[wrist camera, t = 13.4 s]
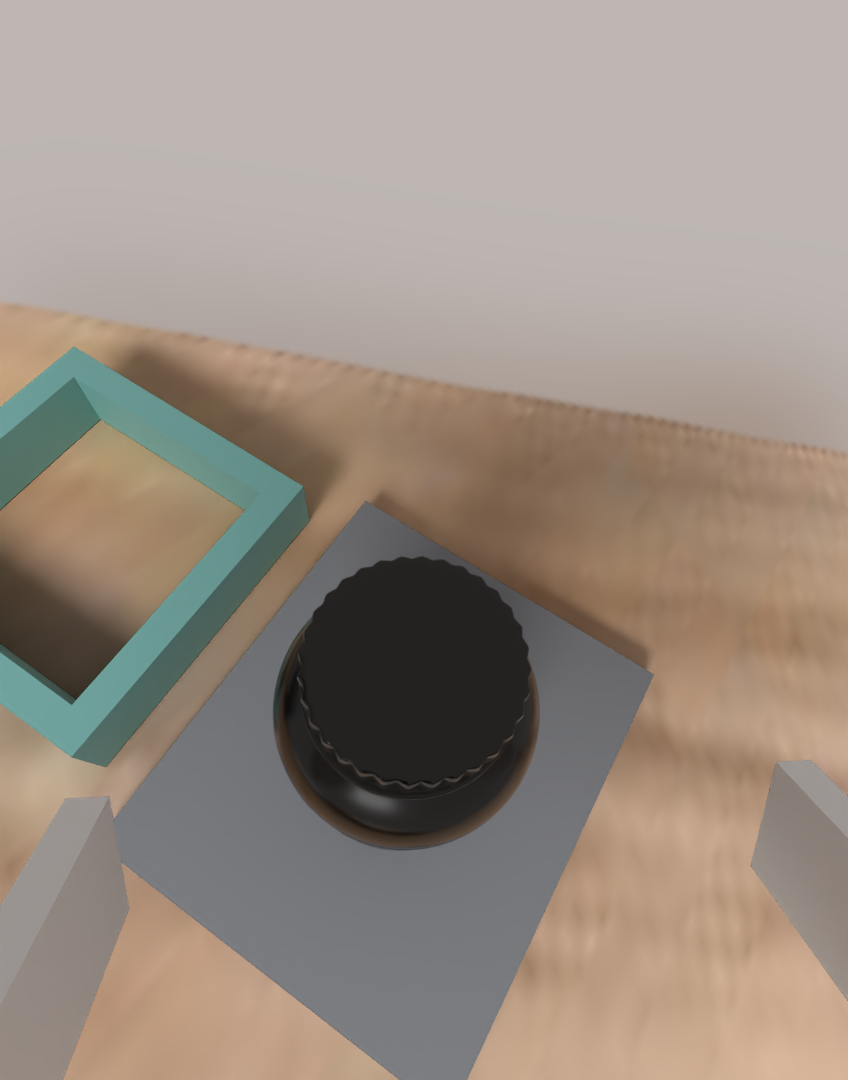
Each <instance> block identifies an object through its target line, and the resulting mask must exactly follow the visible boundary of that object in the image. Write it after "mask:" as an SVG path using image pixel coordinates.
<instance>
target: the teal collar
mask: <svg viewBox="0 0 848 1080" xmlns="http://www.w3.org/2000/svg"><path fill="white" fill-rule="evenodd" d="M100 419H101V420H102V421H104V422H106V423H107V424H109V425H110V426H112V427H114V428H115V429H117V430H118V431H120V432H121V433H123V434H125V435H126V436H128V437H129V438H131V439H133V440H134V441H136V442H137V443H139V444H141V445H142V446H144V447H145V448H147V449H148V450H150V451H152V452H153V453H155V454H156V455H158V456H160V457H161V458H163V459H164V460H166V461H168V462H169V463H171V464H172V465H174V466H175V467H177V468H179V469H180V470H182V471H183V472H185V473H187V474H188V475H190V476H191V477H193V478H194V479H196V480H198V481H199V482H201V483H202V484H204V485H206V486H207V487H209V488H210V489H212V490H214V491H215V492H217V493H218V494H220V495H221V496H223V497H225V498H226V499H228V500H229V501H231V502H233V503H234V504H236V505H237V506H239V507H241V508H242V509H244V510H245V511H244V512H243V514H242V515H241V516H240V517H239V518H238V519H237V520H236V521H235V523H234V524H233V525H232V526H231V527H230V528H229V529H228V530H227V532H226V533H225V534H224V535H223V536H222V537H221V538H220V539H219V540H218V542H217V543H216V544H215V545H214V546H213V547H212V548H211V549H210V551H209V552H208V553H207V554H206V555H205V556H204V557H203V558H202V560H201V561H200V562H199V563H198V564H197V565H196V566H195V567H194V569H193V570H192V571H191V572H190V573H189V574H188V575H187V576H186V578H185V579H184V580H183V581H182V582H181V583H180V584H179V585H178V586H177V588H176V589H175V590H174V591H173V592H172V593H171V594H170V595H169V597H168V598H167V599H166V600H165V601H164V602H163V603H162V604H161V606H160V607H159V608H158V609H157V610H156V611H155V612H154V613H153V615H152V616H151V617H150V618H149V619H148V620H147V621H146V622H145V623H144V625H143V626H142V627H141V628H140V629H139V630H138V631H137V632H136V634H135V635H134V636H133V637H132V638H131V639H130V640H129V641H128V643H127V644H126V645H125V646H124V647H123V648H122V649H121V650H120V652H119V653H118V654H117V655H116V656H115V657H114V658H113V659H112V661H111V662H110V663H109V664H108V665H107V666H106V667H105V668H104V669H103V671H102V672H101V673H100V674H99V675H98V676H97V677H96V678H95V680H94V681H93V682H92V683H91V684H90V685H89V686H88V687H87V689H86V690H85V691H84V692H83V693H82V694H81V695H80V696H79V698H78V699H77V700H76V699H74V698H73V697H72V696H70V695H69V694H68V693H66V692H65V691H64V690H62V689H61V688H59V687H58V686H57V685H55V684H54V683H53V682H51V681H50V680H49V679H47V678H46V677H45V676H43V675H42V674H41V673H39V672H38V671H36V670H35V669H34V668H32V667H31V666H30V665H28V664H27V663H26V662H24V661H23V660H22V659H20V658H19V657H17V656H16V655H15V654H13V653H12V652H11V651H9V650H8V649H7V648H5V647H4V646H3V645H1V644H0V703H1V704H2V705H3V706H5V707H6V708H7V709H8V710H10V711H11V712H12V713H14V714H15V715H16V716H18V717H19V718H20V719H22V720H23V721H24V722H26V723H27V724H28V725H30V726H31V727H32V728H34V729H35V730H36V731H37V732H39V733H40V734H41V735H43V736H44V737H45V738H47V739H48V740H49V741H51V742H52V743H53V744H55V745H56V746H57V747H59V748H60V749H61V750H63V751H64V752H65V753H66V754H68V755H69V756H70V757H73V758H76V759H79V760H83V761H86V762H89V763H93V764H96V765H100V766H103V767H106V766H107V765H108V764H109V763H110V761H111V760H112V759H113V758H114V757H115V755H116V754H117V753H118V752H119V751H120V749H121V748H122V747H123V746H124V745H125V743H126V742H127V741H128V740H129V738H130V737H131V736H132V735H133V734H134V732H135V731H136V730H137V729H138V728H139V726H140V725H141V724H142V723H143V722H144V720H145V719H146V718H147V717H148V715H149V714H150V713H151V712H152V711H153V709H154V708H155V707H156V706H157V705H158V703H159V702H160V701H161V700H162V699H163V697H164V696H165V695H166V694H167V693H168V691H169V690H170V689H171V688H172V686H173V685H174V684H175V683H176V682H177V680H178V679H179V678H180V677H181V676H182V674H183V673H184V672H185V671H186V670H187V668H188V667H189V666H190V665H191V663H192V662H193V661H194V660H195V659H196V657H197V656H198V655H199V654H200V653H201V651H202V650H203V649H204V648H205V647H206V645H207V644H208V643H209V642H210V641H211V639H212V638H213V637H214V636H215V634H216V633H217V632H218V631H219V630H220V628H221V627H222V626H223V625H224V624H225V622H226V621H227V620H228V619H229V618H230V616H231V615H232V614H233V613H234V611H235V610H236V609H237V608H238V607H239V605H240V604H241V603H242V602H243V601H244V599H245V598H246V597H247V596H248V595H249V593H250V592H251V591H252V590H253V589H254V587H255V586H256V585H257V584H258V582H259V581H260V580H261V579H262V578H263V576H264V575H265V574H266V573H267V572H268V570H269V569H270V568H271V567H272V566H273V564H274V563H275V562H276V561H277V559H278V558H279V557H280V556H281V555H282V553H283V552H284V551H285V550H286V549H287V547H288V546H289V545H290V544H291V543H292V541H293V540H294V539H295V538H296V537H297V535H298V534H299V533H300V532H301V530H302V529H303V528H304V527H305V526H306V524H307V523H308V522H309V521H310V520H309V515H308V509H307V504H306V498H305V492H304V487H303V486H302V485H300V484H298V483H297V482H295V481H294V480H292V479H290V478H289V477H287V476H285V475H284V474H282V473H280V472H279V471H277V470H276V469H274V468H272V467H271V466H269V465H267V464H266V463H264V462H262V461H261V460H259V459H258V458H256V457H254V456H253V455H251V454H249V453H248V452H246V451H244V450H243V449H241V448H239V447H238V446H236V445H235V444H233V443H231V442H230V441H228V440H226V439H225V438H223V437H221V436H220V435H218V434H217V433H215V432H213V431H212V430H210V429H208V428H207V427H205V426H203V425H202V424H200V423H198V422H197V421H195V420H194V419H192V418H190V417H189V416H187V415H185V414H184V413H182V412H180V411H179V410H177V409H176V408H174V407H172V406H171V405H169V404H167V403H166V402H164V401H162V400H161V399H159V398H157V397H156V396H154V395H153V394H151V393H149V392H148V391H146V390H144V389H143V388H141V387H139V386H138V385H136V384H135V383H133V382H131V381H130V380H128V379H126V378H125V377H123V376H121V375H120V374H118V373H117V372H115V371H113V370H112V369H110V368H108V367H107V366H105V365H103V364H102V363H100V362H98V361H97V360H95V359H94V358H92V357H90V356H89V355H87V354H85V353H84V352H82V351H80V350H79V349H77V348H76V347H73V348H72V349H70V350H69V351H68V352H67V353H66V354H64V355H63V356H62V357H61V358H59V359H58V360H57V361H56V362H55V363H53V364H52V365H51V366H50V367H48V368H47V369H46V370H45V371H44V372H42V373H41V374H40V375H39V376H38V377H36V378H35V379H34V380H33V381H31V382H30V383H29V384H28V385H27V386H25V387H24V388H23V389H22V390H20V391H19V392H18V393H17V394H16V395H14V396H13V397H12V398H11V399H9V400H8V401H7V402H6V403H5V404H3V405H2V406H1V407H0V509H1V508H3V507H4V506H5V505H6V504H7V503H8V502H9V501H10V500H11V499H13V498H14V497H15V496H16V495H17V494H18V493H19V492H20V491H21V490H23V489H24V488H25V487H26V486H27V485H28V484H29V483H30V482H31V481H33V480H34V479H35V478H36V477H37V476H38V475H39V474H40V473H41V472H43V471H44V470H45V469H46V468H47V467H48V466H49V465H50V464H51V463H53V462H54V461H55V460H56V459H57V458H58V457H59V456H60V455H61V454H63V453H64V452H65V451H66V450H67V449H68V448H69V447H70V446H71V445H73V444H74V443H75V442H76V441H77V440H78V439H79V438H80V437H81V436H83V435H84V434H85V433H86V432H87V431H88V430H89V429H90V428H91V427H92V426H94V425H95V424H96V423H97V422H98V421H99V420H100Z"/></svg>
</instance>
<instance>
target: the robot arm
mask: <svg viewBox="0 0 848 1080" xmlns="http://www.w3.org/2000/svg"><path fill="white" fill-rule="evenodd" d="M751 867H752V868H753V870H754V871H755V872H756V874H757V875H758V877H759V878H760V879H761V881H762V882H763V884H764V885H765V886H766V888H767V889H768V891H769V892H770V893H771V895H772V896H773V898H774V899H775V900H776V902H777V903H778V905H779V906H780V907H781V909H782V910H783V912H784V913H785V914H786V916H787V917H788V919H789V920H790V921H791V923H792V924H793V926H794V927H795V928H796V930H797V931H798V933H799V934H800V935H801V937H802V938H803V940H804V941H805V942H806V944H807V945H808V947H809V948H810V949H811V951H812V952H813V954H814V955H815V956H816V958H817V959H818V961H819V962H820V963H821V965H822V966H823V968H824V969H825V970H826V972H827V973H828V975H829V976H830V977H831V979H832V980H833V981H834V983H835V984H836V986H837V987H838V988H839V990H840V991H841V993H842V994H843V995H844V997H845V998H846V1000H847V1001H848V796H847V795H846V794H845V793H844V792H843V791H842V790H841V789H840V788H839V787H838V786H837V785H836V784H835V783H834V782H833V781H832V780H831V779H830V778H829V777H828V776H827V775H826V774H825V773H824V772H823V771H822V770H821V769H820V768H819V767H818V766H817V765H816V764H815V763H813V762H812V761H811V760H805V761H785V762H776V765H775V769H774V773H773V777H772V781H771V785H770V789H769V793H768V798H767V802H766V806H765V810H764V814H763V818H762V822H761V826H760V830H759V834H758V838H757V842H756V846H755V850H754V854H753V858H752V862H751ZM128 910H129V904H128V898H127V893H126V887H125V882H124V876H123V870H122V865H121V859H120V854H119V848H118V843H117V837H116V832H115V826H114V820H113V815H112V809H111V804H110V798H109V797H90V798H70V799H65V801H64V802H63V804H62V806H61V807H60V809H59V811H58V812H57V814H56V816H55V817H54V819H53V820H52V822H51V824H50V825H49V827H48V829H47V830H46V832H45V834H44V835H43V837H42V839H41V840H40V842H39V843H38V845H37V847H36V848H35V850H34V852H33V853H32V855H31V857H30V858H29V860H28V862H27V863H26V865H25V867H24V868H23V870H22V871H21V873H20V875H19V876H18V878H17V880H16V881H15V883H14V885H13V886H12V888H11V890H10V891H9V893H8V894H7V896H6V898H5V899H4V901H3V903H2V904H1V906H0V1080H63V1078H64V1076H65V1073H66V1070H67V1068H68V1065H69V1063H70V1060H71V1058H72V1055H73V1052H74V1050H75V1047H76V1045H77V1042H78V1039H79V1037H80V1034H81V1032H82V1029H83V1027H84V1024H85V1021H86V1019H87V1016H88V1014H89V1011H90V1009H91V1006H92V1003H93V1001H94V998H95V996H96V993H97V990H98V988H99V985H100V983H101V980H102V978H103V975H104V972H105V970H106V967H107V965H108V962H109V960H110V957H111V954H112V952H113V949H114V947H115V944H116V941H117V939H118V936H119V934H120V931H121V929H122V926H123V923H124V921H125V918H126V916H127V913H128Z"/></svg>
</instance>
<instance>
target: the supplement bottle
mask: <svg viewBox="0 0 848 1080" xmlns="http://www.w3.org/2000/svg"><path fill="white" fill-rule="evenodd" d="M522 634H523V630H522V626H521V625H520V624H519V622H518V621H517V620H516V619H515V618H514V614H513V611H512V608H511V607H510V606H509V605H508V604H506V603H505V602H503V601H502V599H501V596H500V594H499V592H498V591H497V590H495V589H493V588H491V587H489V586H488V585H487V584H486V583H485V581H484V580H483V578H482V577H480V576H477V575H473V574H471V573H469V572H468V570H467V569H466V568H465V567H463V566H458V565H452V564H450V563H449V562H447V561H445V560H444V559H437V560H431V559H429V558H427V557H424V556H420V557H416V558H413V559H411V558H407V557H402V556H401V557H398V558H396V559H394V560H392V561H388V560H380V561H379V562H377V563H375V564H374V565H373V566H372V567H363V568H360V569H359V570H358V571H357V572H356V573H355V574H354V575H353V576H350V577H347V578H344V579H342V580H341V582H340V583H339V585H338V587H337V588H336V589H334V590H332V591H330V592H329V593H327V594H326V596H325V598H324V602H323V604H322V605H321V606H319V607H318V608H317V609H316V610H315V611H314V612H313V615H312V617H311V618H310V619H309V620H308V621H307V622H306V624H305V625H304V626H303V627H302V629H301V630H300V631H299V633H298V634H297V636H296V637H295V639H294V640H293V642H292V643H291V645H290V647H289V649H288V651H287V653H286V655H285V657H284V660H283V662H282V664H281V667H280V670H279V673H278V677H277V681H276V685H275V690H274V698H273V728H274V735H275V741H276V746H277V749H278V752H279V756H280V759H281V761H282V764H283V766H284V769H285V771H286V773H287V775H288V777H289V779H290V781H291V783H292V785H293V786H294V788H295V789H296V791H297V792H298V794H299V795H300V797H301V798H302V799H303V800H304V802H305V803H306V804H307V805H308V806H309V808H310V809H312V810H313V811H314V812H315V813H316V814H317V815H318V816H319V817H320V818H321V819H323V820H324V821H325V822H326V823H328V824H329V825H330V826H332V827H333V828H335V829H336V830H338V831H340V833H342V834H344V835H345V836H347V837H349V838H351V839H353V840H355V841H357V842H359V843H361V844H364V845H367V846H370V847H373V848H377V849H382V850H390V851H407V850H413V849H414V850H417V849H426V848H431V847H435V846H440V845H443V844H446V843H449V842H452V841H454V840H457V839H459V838H461V837H463V836H465V835H467V834H469V833H471V832H472V831H474V830H476V829H477V828H479V827H480V826H481V825H483V824H484V823H485V822H487V821H488V820H489V819H491V818H492V817H493V816H494V815H495V814H496V813H497V812H498V811H499V810H500V809H501V808H502V807H503V806H504V805H505V804H506V803H507V802H508V800H509V799H510V798H511V797H512V795H513V794H514V793H515V791H516V790H517V788H518V787H519V785H520V783H521V782H522V780H523V778H524V776H525V774H526V772H527V770H528V768H529V765H530V763H531V760H532V757H533V754H534V751H535V747H536V743H537V738H538V732H539V723H540V705H539V694H538V688H537V683H536V679H535V675H534V672H533V669H532V666H531V663H530V661H529V658H528V653H529V647H528V645H527V643H526V642H525V640H524V639H523V635H522Z"/></svg>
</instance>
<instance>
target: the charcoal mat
mask: <svg viewBox="0 0 848 1080" xmlns="http://www.w3.org/2000/svg"><path fill="white" fill-rule="evenodd" d="M401 556H402V557H407V558H411V559H413V558H416V557H420V556H424V557H427V558H429V559H431V560H437V559H444V560H445V561H447V562H449V563H450V564H452V565H458V566H463V567H465V568H466V569H467V570H468V572H469V573H471V574H473V575H477V576H480V577H482V578H483V580H484V581H485V583H486V584H487V585H488V586H489V587H491V588H493V589H495V590H497V591H498V592H499V594H500V596H501V599H502V601H503V602H505V603H506V604H508V605H509V606H510V607H511V608H512V611H513V614H514V618H515V619H516V620H517V621H518V622H519V624H520V625H521V626H522V630H523V634H522V635H523V639H524V640H525V642H526V643H527V645H528V647H529V653H528V658H529V661H530V663H531V666H532V669H533V672H534V675H535V679H536V683H537V688H538V694H539V705H540V723H539V732H538V738H537V743H536V747H535V751H534V754H533V757H532V760H531V763H530V765H529V768H528V770H527V772H526V774H525V776H524V778H523V780H522V782H521V783H520V785H519V787H518V788H517V790H516V791H515V793H514V794H513V795H512V797H511V798H510V799H509V800H508V802H507V803H506V804H505V805H504V806H503V807H502V808H501V809H500V810H499V811H498V812H497V813H496V814H495V815H494V816H493V817H492V818H491V819H489V820H488V821H487V822H485V823H484V824H483V825H481V826H480V827H479V828H477V829H476V830H474V831H472V832H471V833H469V834H467V835H465V836H463V837H461V838H459V839H457V840H454V841H452V842H449V843H446V844H443V845H440V846H435V847H431V848H426V849H417V850H414V849H413V850H407V851H390V850H382V849H377V848H373V847H370V846H367V845H364V844H361V843H359V842H357V841H355V840H353V839H351V838H349V837H347V836H345V835H344V834H342V833H340V831H338V830H336V829H335V828H333V827H332V826H330V825H329V824H328V823H326V822H325V821H324V820H323V819H321V818H320V817H319V816H318V815H317V814H316V813H315V812H314V811H313V810H312V809H310V808H309V806H308V805H307V804H306V803H305V802H304V800H303V799H302V798H301V797H300V795H299V794H298V792H297V791H296V789H295V788H294V786H293V785H292V783H291V781H290V779H289V777H288V775H287V773H286V771H285V769H284V766H283V764H282V761H281V759H280V756H279V752H278V749H277V746H276V741H275V735H274V728H273V698H274V690H275V685H276V681H277V677H278V673H279V670H280V667H281V664H282V662H283V660H284V657H285V655H286V653H287V651H288V649H289V647H290V645H291V643H292V642H293V640H294V639H295V637H296V636H297V634H298V633H299V631H300V630H301V629H302V627H303V626H304V625H305V624H306V622H307V621H308V620H309V619H310V618H311V617H312V615H313V612H314V611H315V610H316V609H317V608H318V607H319V606H321V605H322V604H323V602H324V598H325V596H326V594H327V593H329V592H330V591H332V590H334V589H336V588H337V587H338V585H339V583H340V582H341V580H342V579H344V578H347V577H350V576H353V575H354V574H355V573H356V572H357V571H358V570H359V569H360V568H363V567H372V566H373V565H374V564H375V563H377V562H379V561H380V560H388V561H392V560H394V559H396V558H398V557H401ZM653 676H654V674H652V673H651V672H649V671H647V670H646V669H644V668H642V667H641V666H639V665H637V664H636V663H634V662H632V661H631V660H629V659H627V658H626V657H624V656H622V655H621V654H619V653H617V652H616V651H614V650H612V649H611V648H609V647H607V646H606V645H604V644H603V643H601V642H599V641H598V640H596V639H594V638H593V637H591V636H589V635H588V634H586V633H584V632H583V631H581V630H579V629H578V628H576V627H574V626H573V625H571V624H569V623H568V622H566V621H564V620H563V619H561V618H559V617H558V616H556V615H554V614H553V613H551V612H549V611H548V610H546V609H544V608H543V607H541V606H539V605H538V604H536V603H534V602H533V601H531V600H529V599H528V598H526V597H524V596H523V595H521V594H519V593H518V592H516V591H514V590H513V589H511V588H510V587H508V586H506V585H505V584H503V583H501V582H500V581H498V580H496V579H495V578H493V577H491V576H490V575H488V574H486V573H485V572H483V571H481V570H480V569H478V568H476V567H475V566H473V565H471V564H470V563H468V562H466V561H465V560H463V559H461V558H460V557H458V556H456V555H455V554H453V553H451V552H450V551H448V550H446V549H445V548H443V547H441V546H440V545H438V544H436V543H435V542H433V541H431V540H430V539H428V538H426V537H425V536H423V535H422V534H420V533H418V532H417V531H415V530H413V529H412V528H410V527H408V526H407V525H405V524H403V523H402V522H400V521H398V520H397V519H395V518H393V517H392V516H390V515H388V514H387V513H385V512H383V511H382V510H380V509H378V508H377V507H375V506H373V505H372V504H370V503H368V502H367V501H365V502H364V504H363V505H362V506H361V507H360V509H359V510H358V511H357V513H356V514H355V515H354V516H353V518H352V519H351V520H350V521H349V523H348V524H347V525H346V526H345V528H344V529H343V530H342V531H341V533H340V534H339V535H338V537H337V538H336V539H335V540H334V542H333V543H332V544H331V545H330V547H329V548H328V549H327V550H326V552H325V553H324V554H323V555H322V557H321V558H320V559H319V561H318V562H317V563H316V564H315V566H314V567H313V568H312V569H311V571H310V572H309V573H308V574H307V576H306V577H305V578H304V579H303V581H302V582H301V583H300V585H299V586H298V587H297V588H296V590H295V591H294V592H293V593H292V595H291V596H290V597H289V598H288V600H287V601H286V602H285V604H284V605H283V606H282V607H281V609H280V610H279V611H278V612H277V614H276V615H275V616H274V617H273V619H272V620H271V621H270V622H269V624H268V625H267V626H266V628H265V629H264V630H263V631H262V633H261V634H260V635H259V636H258V638H257V639H256V640H255V641H254V643H253V644H252V645H251V646H250V648H249V649H248V650H247V652H246V653H245V654H244V655H243V657H242V658H241V659H240V660H239V662H238V663H237V664H236V665H235V667H234V668H233V669H232V670H231V672H230V673H229V674H228V676H227V677H226V678H225V679H224V681H223V682H222V683H221V684H220V686H219V687H218V688H217V689H216V691H215V692H214V693H213V694H212V696H211V697H210V698H209V700H208V701H207V702H206V703H205V705H204V706H203V707H202V708H201V710H200V711H199V712H198V713H197V715H196V716H195V717H194V718H193V720H192V721H191V722H190V724H189V725H188V726H187V727H186V729H185V730H184V731H183V732H182V734H181V735H180V736H179V737H178V739H177V740H176V741H175V743H174V744H173V745H172V746H171V748H170V749H169V750H168V751H167V753H166V754H165V755H164V756H163V758H162V759H161V760H160V761H159V763H158V764H157V765H156V767H155V768H154V769H153V770H152V772H151V773H150V774H149V775H148V777H147V778H146V779H145V780H144V782H143V783H142V784H141V785H140V787H139V788H138V789H137V791H136V792H135V793H134V794H133V796H132V797H131V798H130V799H129V801H128V802H127V803H126V804H125V806H124V807H123V808H122V809H121V811H120V812H119V813H118V815H117V816H116V817H115V818H114V826H115V832H116V837H117V843H118V848H119V854H120V859H121V862H122V863H123V864H124V865H126V866H127V867H128V868H130V869H131V870H132V871H133V872H135V873H136V874H137V875H138V876H140V877H141V878H142V879H144V880H145V881H146V882H147V883H149V884H150V885H151V886H153V887H154V888H155V889H156V890H158V891H159V892H160V893H161V894H163V895H164V896H165V897H167V898H168V899H169V900H170V901H172V902H173V903H174V904H176V905H177V906H178V907H179V908H181V909H182V910H183V911H184V912H186V913H187V914H188V915H190V916H191V917H192V918H193V919H195V920H196V921H197V922H199V923H200V924H201V925H202V926H204V927H205V928H206V929H207V930H209V931H210V932H211V933H213V934H214V935H215V936H216V937H218V938H219V939H220V940H222V941H223V942H224V943H225V944H227V945H228V946H229V947H230V948H232V949H233V950H234V951H236V952H237V953H238V954H239V955H241V956H242V957H243V958H244V959H246V960H247V961H248V962H250V963H251V964H252V965H253V966H255V967H256V968H257V969H259V970H260V971H261V972H262V973H264V974H265V975H266V976H267V977H269V978H270V979H271V980H273V981H274V982H275V983H276V984H278V985H279V986H280V987H282V988H283V989H284V990H285V991H287V992H288V993H289V994H290V995H292V996H293V997H294V998H296V999H297V1000H298V1001H299V1002H301V1003H302V1004H303V1005H305V1006H306V1007H307V1008H308V1009H310V1010H311V1011H312V1012H313V1013H315V1014H316V1015H317V1016H319V1017H320V1018H321V1019H322V1020H324V1021H325V1022H326V1023H328V1024H329V1025H330V1026H331V1027H333V1028H334V1029H335V1030H336V1031H338V1032H339V1033H340V1034H342V1035H343V1036H344V1037H345V1038H347V1039H348V1040H349V1041H351V1042H352V1043H353V1044H354V1045H356V1046H357V1047H358V1048H359V1049H361V1050H362V1051H363V1052H365V1053H366V1054H367V1055H368V1056H370V1057H371V1058H372V1059H373V1060H375V1061H376V1062H377V1063H379V1064H380V1065H381V1066H382V1067H384V1068H385V1069H386V1070H388V1071H389V1072H390V1073H391V1074H393V1075H394V1076H395V1077H396V1078H398V1079H399V1080H467V1079H468V1076H469V1074H470V1072H471V1070H472V1068H473V1066H474V1063H475V1061H476V1059H477V1057H478V1055H479V1053H480V1050H481V1048H482V1046H483V1044H484V1042H485V1040H486V1037H487V1035H488V1033H489V1031H490V1029H491V1027H492V1024H493V1022H494V1020H495V1018H496V1016H497V1014H498V1011H499V1009H500V1007H501V1005H502V1003H503V1001H504V998H505V996H506V994H507V992H508V990H509V988H510V985H511V983H512V981H513V979H514V977H515V975H516V972H517V970H518V968H519V966H520V964H521V962H522V959H523V957H524V955H525V953H526V951H527V949H528V946H529V944H530V942H531V940H532V938H533V936H534V933H535V931H536V929H537V927H538V925H539V923H540V920H541V918H542V916H543V914H544V912H545V910H546V907H547V905H548V903H549V901H550V899H551V897H552V894H553V892H554V890H555V888H556V886H557V884H558V881H559V879H560V877H561V875H562V873H563V871H564V868H565V866H566V864H567V862H568V860H569V858H570V855H571V853H572V851H573V849H574V847H575V845H576V842H577V840H578V838H579V836H580V834H581V832H582V829H583V827H584V825H585V823H586V821H587V819H588V816H589V814H590V812H591V810H592V808H593V806H594V803H595V801H596V799H597V797H598V795H599V793H600V790H601V788H602V786H603V784H604V782H605V780H606V777H607V775H608V773H609V771H610V769H611V767H612V764H613V762H614V760H615V758H616V756H617V754H618V751H619V749H620V747H621V745H622V743H623V741H624V738H625V736H626V734H627V732H628V730H629V728H630V725H631V723H632V721H633V719H634V717H635V715H636V712H637V710H638V708H639V706H640V704H641V702H642V699H643V697H644V695H645V693H646V691H647V689H648V686H649V684H650V682H651V680H652V678H653Z"/></svg>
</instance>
